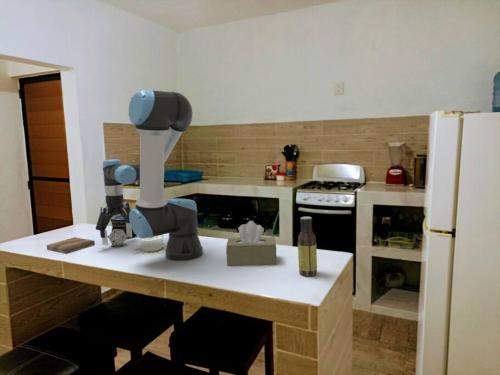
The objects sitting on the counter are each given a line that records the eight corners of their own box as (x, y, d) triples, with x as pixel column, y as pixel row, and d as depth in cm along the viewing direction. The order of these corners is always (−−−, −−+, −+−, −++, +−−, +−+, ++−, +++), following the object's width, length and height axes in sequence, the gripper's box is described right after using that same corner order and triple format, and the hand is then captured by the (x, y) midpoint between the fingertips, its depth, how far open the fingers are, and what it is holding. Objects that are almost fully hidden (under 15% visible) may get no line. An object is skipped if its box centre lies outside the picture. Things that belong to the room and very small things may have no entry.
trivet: (94, 245, 171) (94, 240, 171) (66, 253, 159) (66, 248, 159) (75, 241, 178) (75, 236, 178) (47, 249, 166) (46, 244, 166)
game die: (123, 252, 171) (135, 233, 173) (114, 251, 163) (127, 231, 164) (108, 242, 173) (120, 223, 174) (99, 240, 165) (112, 221, 166)
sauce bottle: (314, 270, 132) (314, 215, 129) (318, 276, 126) (318, 219, 123) (296, 271, 132) (296, 215, 129) (300, 277, 126) (299, 219, 123)
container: (133, 239, 179) (132, 219, 177) (107, 240, 179) (105, 219, 178) (142, 232, 191) (141, 213, 190) (117, 232, 192) (116, 214, 190)
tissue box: (275, 256, 148) (274, 217, 146) (277, 265, 139) (276, 223, 137) (228, 257, 149) (226, 218, 146) (226, 266, 139) (224, 225, 137)
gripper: (130, 189, 178) (133, 232, 182) (84, 198, 157) (88, 247, 160) (141, 190, 175) (144, 234, 178) (95, 199, 153) (100, 249, 156)
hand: (117, 240), depth 169 cm, fingers open, 13 cm apart
